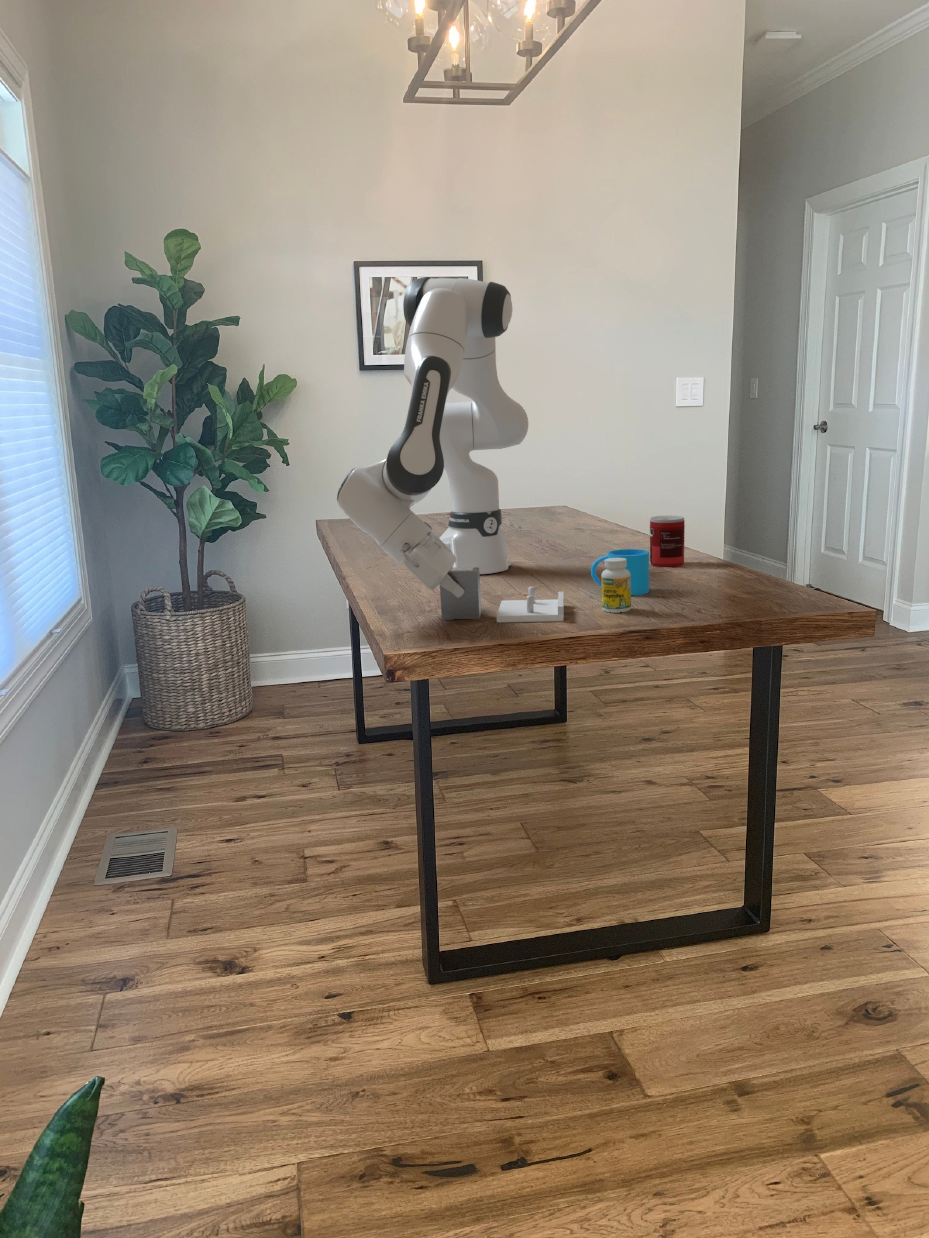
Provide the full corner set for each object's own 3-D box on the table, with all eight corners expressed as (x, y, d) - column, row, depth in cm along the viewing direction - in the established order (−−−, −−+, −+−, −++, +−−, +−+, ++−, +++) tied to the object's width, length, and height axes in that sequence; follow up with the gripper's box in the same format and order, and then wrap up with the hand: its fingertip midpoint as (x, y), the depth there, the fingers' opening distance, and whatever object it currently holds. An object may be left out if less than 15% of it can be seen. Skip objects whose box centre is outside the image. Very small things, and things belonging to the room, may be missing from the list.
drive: (441, 620, 171) (439, 571, 169) (444, 615, 175) (442, 567, 172) (479, 619, 170) (477, 570, 168) (481, 614, 174) (479, 566, 172)
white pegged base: (496, 622, 167) (495, 599, 166) (501, 606, 179) (501, 585, 178) (563, 621, 165) (563, 598, 164) (563, 605, 178) (563, 583, 177)
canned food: (662, 560, 220) (662, 514, 217) (691, 564, 214) (691, 516, 212) (642, 565, 215) (642, 518, 212) (671, 569, 209) (671, 520, 207)
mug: (653, 589, 189) (653, 549, 187) (642, 597, 182) (642, 556, 180) (597, 586, 194) (596, 548, 192) (584, 594, 187) (584, 554, 185)
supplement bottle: (633, 607, 173) (633, 557, 171) (627, 614, 169) (627, 562, 166) (605, 606, 175) (604, 556, 173) (598, 612, 171) (598, 561, 168)
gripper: (410, 536, 159) (469, 590, 160) (427, 521, 179) (480, 569, 180) (386, 562, 161) (445, 616, 162) (406, 544, 180) (458, 592, 182)
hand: (463, 591), depth 171 cm, fingers closed on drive, 4 cm apart
